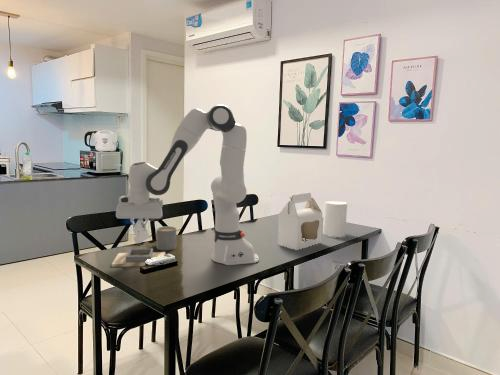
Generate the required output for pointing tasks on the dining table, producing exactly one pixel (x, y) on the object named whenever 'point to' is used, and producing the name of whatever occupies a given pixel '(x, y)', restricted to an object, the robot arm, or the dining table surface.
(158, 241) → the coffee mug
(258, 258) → the robot arm
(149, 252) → the back box
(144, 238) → the white wedge bracket
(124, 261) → the mounting board
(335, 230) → the canister
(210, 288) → the dining table surface
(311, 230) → the gable box
